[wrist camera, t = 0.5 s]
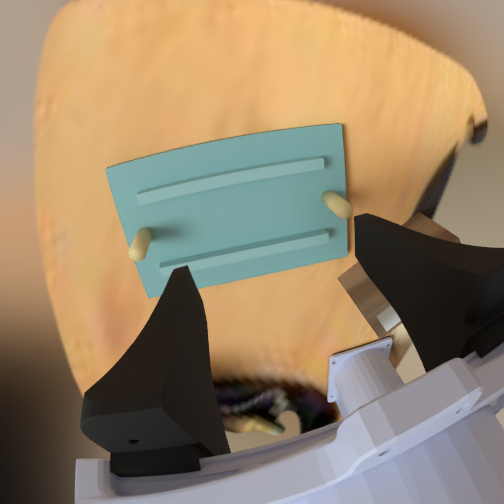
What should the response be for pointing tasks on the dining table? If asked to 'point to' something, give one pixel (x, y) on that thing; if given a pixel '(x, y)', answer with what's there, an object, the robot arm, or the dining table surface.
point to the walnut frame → (370, 296)
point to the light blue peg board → (235, 206)
